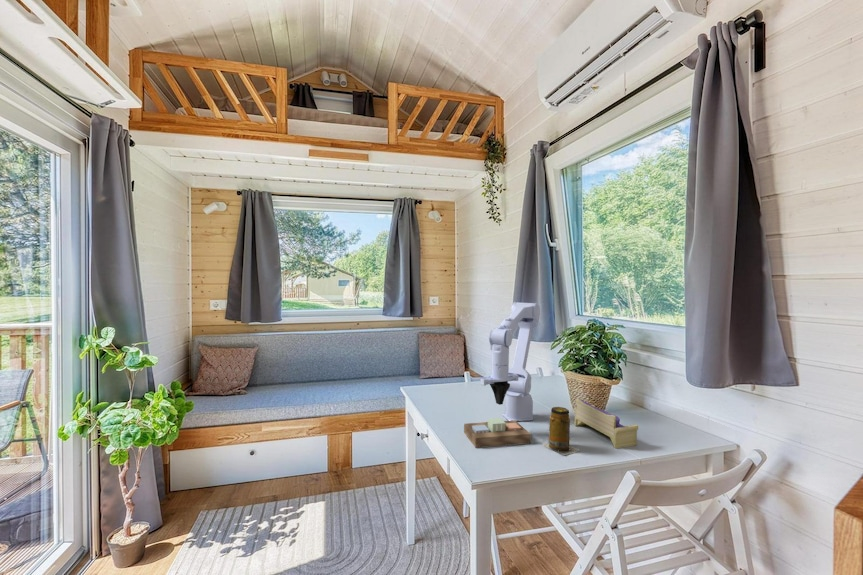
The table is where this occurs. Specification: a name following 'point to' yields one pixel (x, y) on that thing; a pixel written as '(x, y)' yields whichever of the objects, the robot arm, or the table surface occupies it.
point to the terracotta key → (512, 426)
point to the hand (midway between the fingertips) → (499, 403)
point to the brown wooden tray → (497, 436)
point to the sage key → (496, 425)
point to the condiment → (560, 431)
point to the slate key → (480, 429)
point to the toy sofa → (605, 424)
